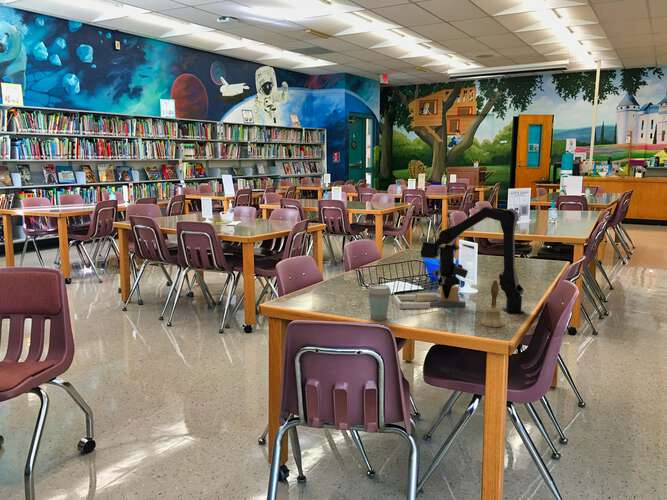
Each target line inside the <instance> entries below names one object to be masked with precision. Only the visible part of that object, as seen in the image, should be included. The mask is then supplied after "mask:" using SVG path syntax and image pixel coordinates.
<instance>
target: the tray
mask: <svg viewBox="0 0 667 500" xmlns="http://www.w3.org/2000/svg"><path fill="white" fill-rule="evenodd" d="M392 300H393V301H394V304H395V305H396V306H397V307H398V309H430V308H431V307H430V303H429V302H427V303H416V302H402V301H416V294H393V295H392Z"/></svg>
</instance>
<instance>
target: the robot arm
mask: <svg viewBox="0 0 667 500" xmlns="http://www.w3.org/2000/svg"><path fill="white" fill-rule="evenodd" d="M487 218H489V219H492V220H494V221H499V222H500V227H501V231H502V233H503V234H502V235H503V271H502V272H500V274H498V279H499V283H498V286H500V289H501V291H503V292H504V294H505V297H506V303H505V304H506V305H505V307H503V308H502V310H503V311H505V312H506V313H508V314H525V311H524V310H523V309H522V307H523V306H522V305H523V296H522V295H523V294H524V291H525V289H524V287H523V286H522V285H520V282H519V277H518V273H517V271H516V252H515V250H516V249H515V246H516V245H515V244H516V243H515V241H516V240H515V239H516V238H515V235H516V234H515V233H516V232H515V231H516V228H517V225H518V224H517V223H518V219H519V213H518V212H517V211H516V210H515V209H513V208H507V209H503V208H496V207H491V206H487V205H486V206H485V207H482V208H481V209H480V210H479V211H477V212H475V213H474V214H473V215H470V217H467V218H466V219H464V220H463V221H461V222H460V223H458V224H455V225H453V226H451V227H448V228H446V229H443V230H442V231H440V232H439V234H438V239H436V241H435V242H432V241H425V240H424V241H423V242H422V245H421V249H420V257H421V258H422V259H431V260H432V259H435V260H436V259H437V257H439V261H437V263H438V266H439V268H435V269H434V270H433V277H436V278H435V280H436V281H437V284H438V287H439V288H440V286H442V290H443V293H444V296H445V298H448V297H449V294H450V290H451V288H452V286H457V285H458V286H459V285H460V284H461V282H460V281H461V280H460V279H459V277H457V276H460V277H462V278H464V279H466V277H467V275H468V272H469V270H467V269H466V268H464V267H463V265H462V264H460V263H457V264H456V262H455V251H458V250H460V246H459V245H458V244H457V243H456V242H455V241H456V240H457V239H458V238H459V237H461V235H462V234H463V233H465V232H466V231H467V230H469V229H470V228H473V226H476V225H477V224H478V223H480V222H482V221H484V220H485V219H487ZM453 242H455V243H453ZM451 243H453V244H451ZM443 245H444V246H443Z"/></svg>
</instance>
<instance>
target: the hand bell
mask: <svg viewBox="0 0 667 500" xmlns="http://www.w3.org/2000/svg"><path fill="white" fill-rule="evenodd" d="M499 288H500V287H499V283H498V280H495V279H494V280H493V281H492V284H491V287H490V295H491V304H490V307H489V308H487V309H486V313H485V315H484V318H483V319H482V320H480V321H481V322H480V324H481V325H483V326H485V327H490V328H491V327H493V328H500V327H502V328H503V327H504V326H505V322H504V321H503V320H502V317H501V311H500V309H499V308H498V307H497V298H498V295H499Z"/></svg>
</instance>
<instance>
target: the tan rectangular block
mask: <svg viewBox="0 0 667 500" xmlns="http://www.w3.org/2000/svg"><path fill="white" fill-rule="evenodd" d="M459 288H460V287H459V285H458V286H457V285H453V286H452V288H451V290H450V294H449V297H448V298H445V296H444V293H443V290H442V286H440V287H439V292H435V293H436V294H437V302H442V301H458V296H459Z"/></svg>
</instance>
